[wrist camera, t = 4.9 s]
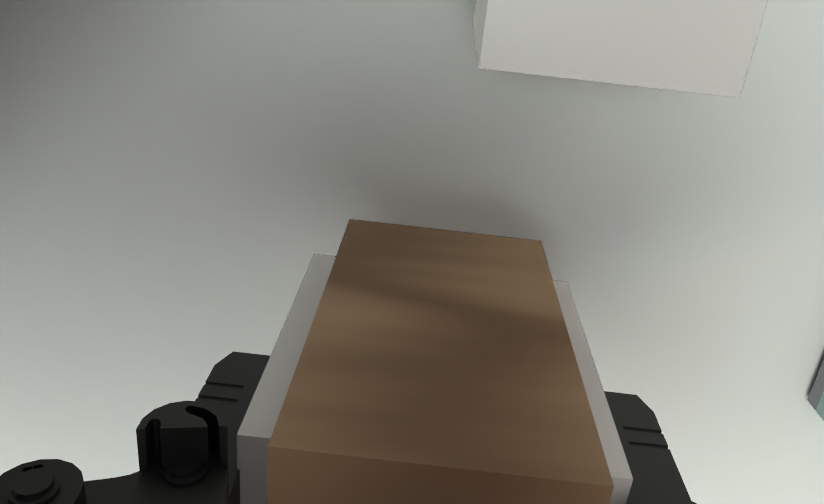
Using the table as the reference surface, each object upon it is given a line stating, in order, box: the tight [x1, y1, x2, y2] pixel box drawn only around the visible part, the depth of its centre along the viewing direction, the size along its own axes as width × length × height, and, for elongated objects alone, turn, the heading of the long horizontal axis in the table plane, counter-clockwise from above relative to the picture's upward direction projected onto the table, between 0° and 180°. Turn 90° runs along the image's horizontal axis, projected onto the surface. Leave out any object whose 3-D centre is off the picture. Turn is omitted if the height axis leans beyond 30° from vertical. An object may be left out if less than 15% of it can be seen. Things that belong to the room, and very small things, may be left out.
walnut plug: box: [267, 219, 614, 504], centre depth 14 cm, size 4×4×8 cm
